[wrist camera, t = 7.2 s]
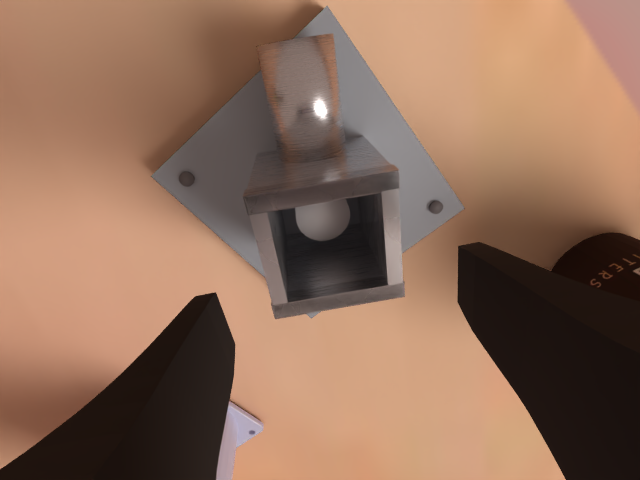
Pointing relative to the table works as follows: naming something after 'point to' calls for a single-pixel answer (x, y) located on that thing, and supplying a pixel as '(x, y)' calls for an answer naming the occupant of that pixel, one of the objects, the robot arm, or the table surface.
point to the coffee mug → (605, 264)
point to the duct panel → (258, 136)
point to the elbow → (320, 189)
